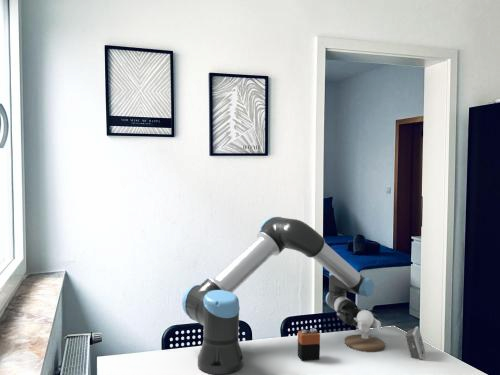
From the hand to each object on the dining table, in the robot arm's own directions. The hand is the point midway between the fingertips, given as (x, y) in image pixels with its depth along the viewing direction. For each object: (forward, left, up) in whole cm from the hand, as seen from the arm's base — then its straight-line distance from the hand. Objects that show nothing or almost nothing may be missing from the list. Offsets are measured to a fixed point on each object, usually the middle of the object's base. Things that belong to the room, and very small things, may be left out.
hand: (371, 326), depth 157 cm
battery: (-8, -25, -9) cm, 27 cm away
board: (-5, +2, -8) cm, 10 cm away
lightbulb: (-5, +2, -7) cm, 8 cm away
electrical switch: (+12, +9, -9) cm, 18 cm away
